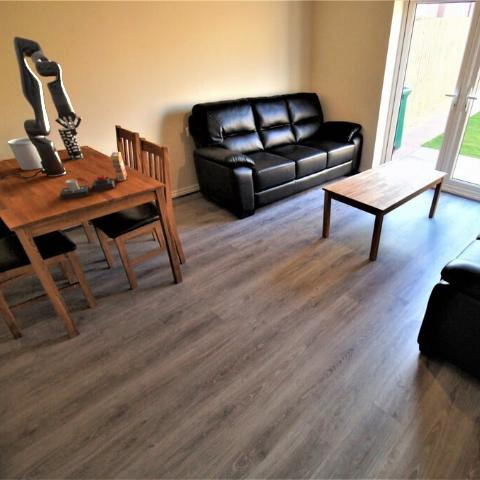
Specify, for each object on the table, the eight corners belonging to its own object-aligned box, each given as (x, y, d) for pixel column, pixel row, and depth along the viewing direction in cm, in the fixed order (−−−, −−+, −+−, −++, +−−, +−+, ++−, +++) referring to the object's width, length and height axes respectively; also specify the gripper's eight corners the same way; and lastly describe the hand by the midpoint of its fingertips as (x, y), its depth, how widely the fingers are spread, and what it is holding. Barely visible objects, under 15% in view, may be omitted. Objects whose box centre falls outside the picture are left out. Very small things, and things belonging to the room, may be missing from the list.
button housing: (94, 191, 182) (90, 183, 180) (95, 185, 189) (92, 177, 187) (114, 188, 186) (111, 180, 183) (114, 183, 193) (112, 175, 190)
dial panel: (61, 200, 172) (59, 194, 171) (65, 193, 180) (62, 187, 178) (88, 196, 177) (86, 190, 175) (90, 189, 184) (88, 184, 183)
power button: (97, 181, 183) (96, 177, 182) (98, 178, 186) (97, 175, 185) (105, 180, 184) (104, 176, 183) (106, 177, 187) (105, 174, 186)
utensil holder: (46, 161, 224) (34, 136, 215) (50, 166, 215) (38, 140, 206) (19, 166, 215) (6, 140, 206) (22, 172, 206) (8, 144, 197)
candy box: (125, 180, 196) (117, 155, 188) (118, 181, 195) (109, 156, 187) (127, 175, 204) (120, 151, 195) (120, 176, 202) (112, 152, 194)
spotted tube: (73, 155, 235) (62, 127, 225) (85, 155, 236) (75, 127, 225) (67, 159, 228) (55, 130, 218) (79, 159, 229) (68, 130, 218)
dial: (68, 191, 174) (64, 182, 171) (70, 188, 178) (66, 179, 175) (78, 190, 176) (74, 181, 173) (80, 187, 179) (76, 178, 177)
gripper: (77, 101, 180) (89, 132, 190) (49, 102, 176) (63, 134, 186) (75, 103, 175) (87, 135, 184) (45, 105, 170) (60, 138, 180)
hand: (75, 135), depth 185 cm, fingers closed
